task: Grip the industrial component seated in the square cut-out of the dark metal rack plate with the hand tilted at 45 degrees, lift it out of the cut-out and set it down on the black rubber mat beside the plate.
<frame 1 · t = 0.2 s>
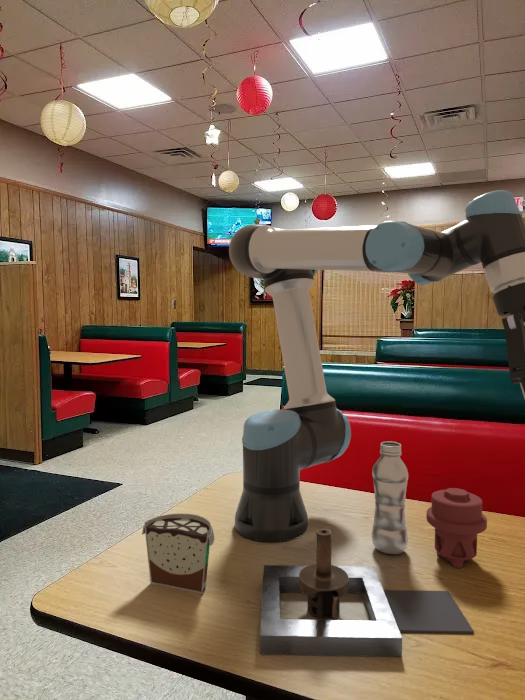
mechanical component: (455, 560, 88), on the table
food container: (185, 580, 81), on the table
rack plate: (323, 613, 72), on the table
industrial component: (323, 615, 72), resting in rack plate
plastic bottle: (389, 551, 91), on the table
rubber mat: (425, 611, 72), on the table
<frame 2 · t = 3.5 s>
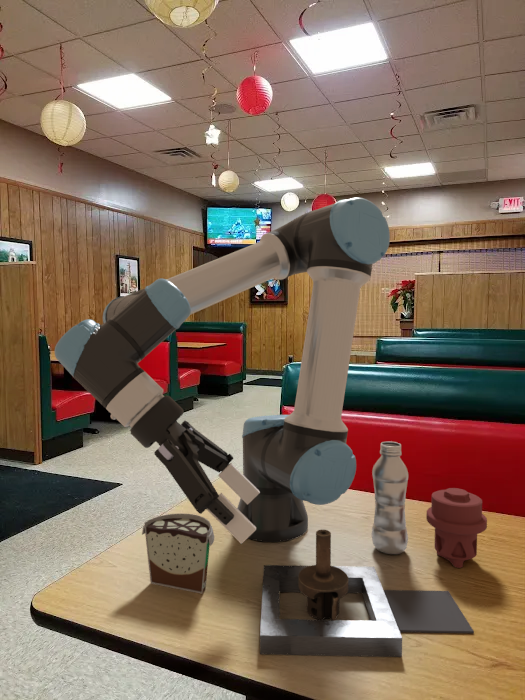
hand: (251, 515, 71), 15 cm above the table, tool tilted 45°, fingers open, 13 cm apart
nothing on the table moved.
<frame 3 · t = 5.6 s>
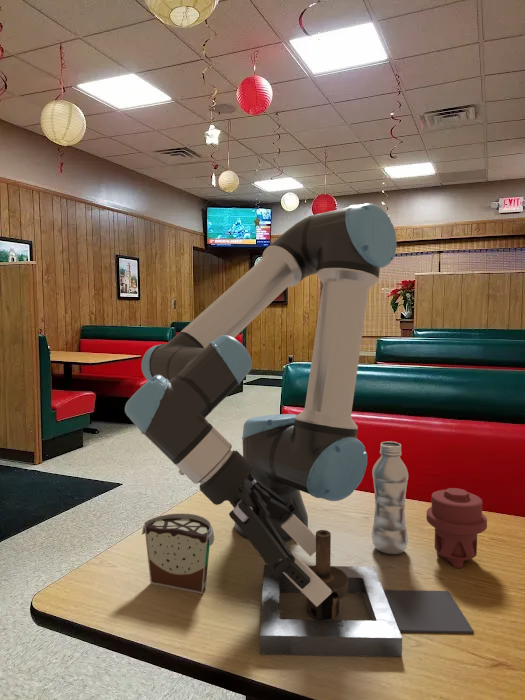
hand: (320, 571, 70), 7 cm above the table, tool tilted 45°, fingers open, 13 cm apart
nothing on the table moved.
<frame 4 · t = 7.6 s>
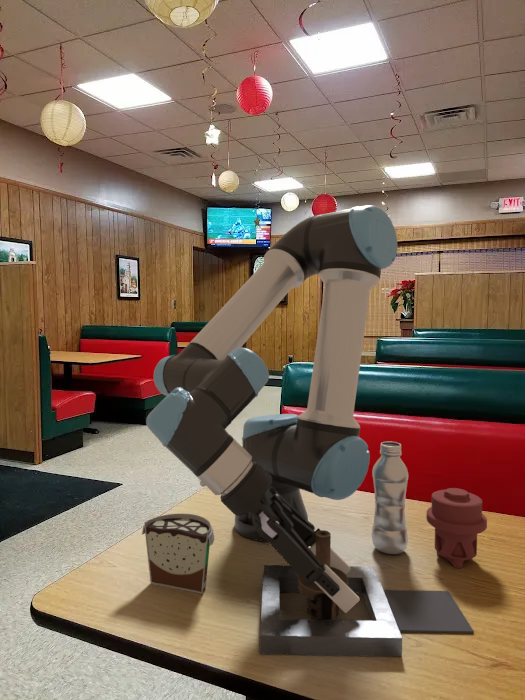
hand: (347, 588, 71), 4 cm above the table, tool tilted 45°, fingers closed on industrial component, 7 cm apart
industrial component: (323, 617, 71), resting in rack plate, touching gripper
everything else where it was.
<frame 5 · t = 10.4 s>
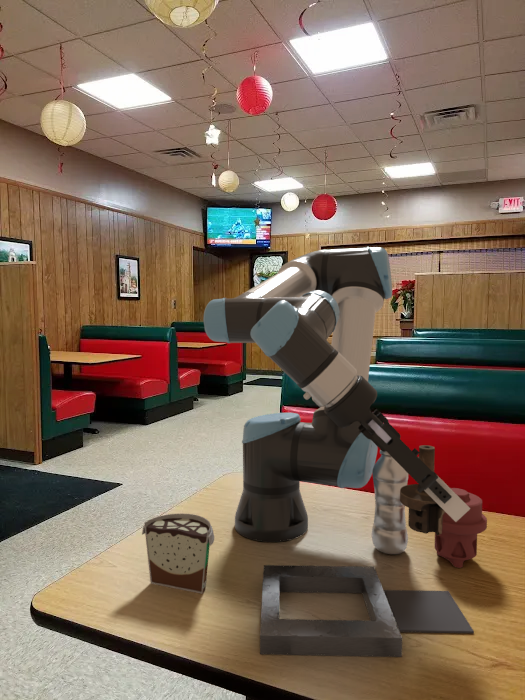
hand: (451, 503, 71), 16 cm above the table, tool tilted 45°, fingers closed on industrial component, 7 cm apart
industrial component: (426, 531, 71), point 12 cm above the table, touching gripper
everything else where it was.
when the fingers open (5 cm above the table, at t = 13.2 s): industrial component drops 1 cm, resting on rubber mat.
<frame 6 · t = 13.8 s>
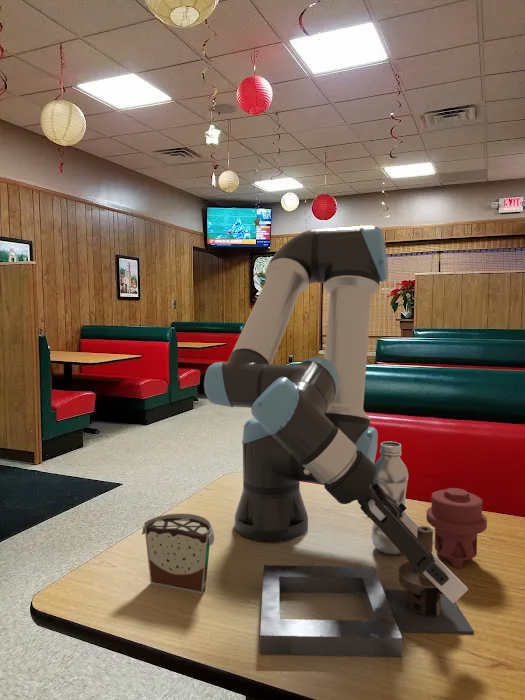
hand: (442, 569, 72), 6 cm above the table, tool tilted 45°, fingers open, 13 cm apart
industrial component: (425, 612, 72), resting on rubber mat
everything else where it was.
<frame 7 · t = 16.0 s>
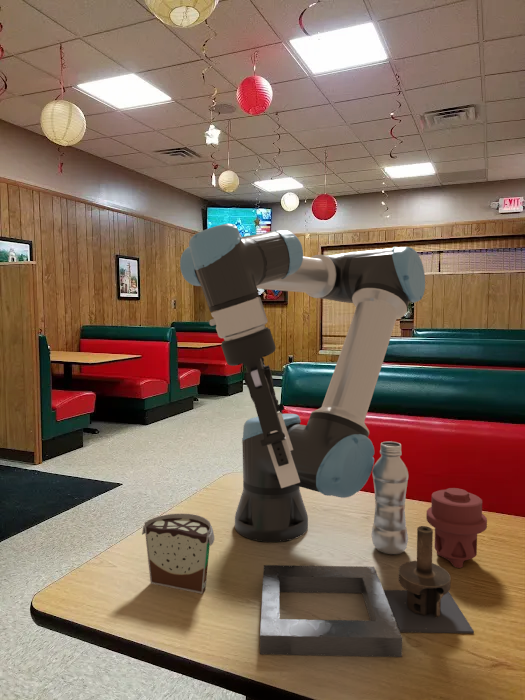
hand: (287, 466, 74), 21 cm above the table, tool tilted 20°, fingers open, 13 cm apart
plastic bottle: (389, 551, 91), on the table, touching arm
everything else where it was.
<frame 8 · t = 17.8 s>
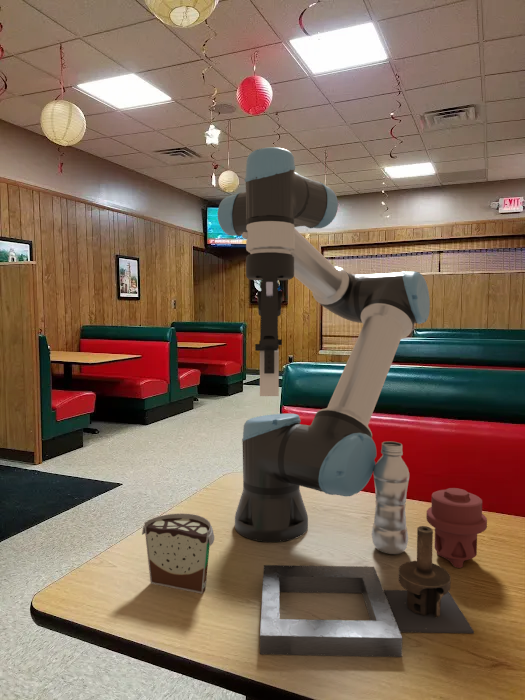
hand: (269, 389, 78), 32 cm above the table, tool pointing down, fingers open, 13 cm apart
nothing on the table moved.
at the end: industrial component inside the target area (0.4 cm from its centre), resting on rubber mat; industrial component tilted 0°; the gripper is holding nothing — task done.
